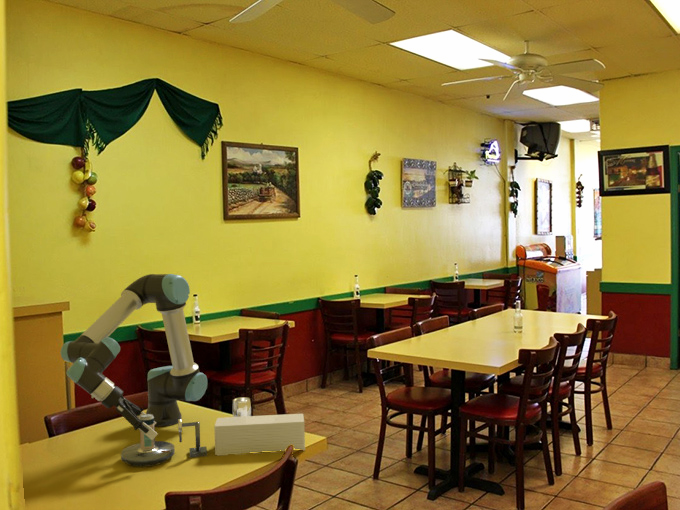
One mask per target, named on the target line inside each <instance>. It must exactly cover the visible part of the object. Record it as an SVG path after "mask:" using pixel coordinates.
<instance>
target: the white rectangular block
mask: <svg viewBox="0 0 680 510" xmlns="http://www.w3.org/2000/svg"><path fill="white" fill-rule="evenodd" d="M304 416H305V415H304V413H289V414H285V413H284V414H271V415H270V414H269V415H267V414H266V415H251V416H245V417H233V416H229V417H228V416H227V417H217V418H216V420H215V424H214V427H213V428H214V454H215V455H217V456H229V455H228V454H235V455H242V454H241V453H250V452H262V451H280V450H281V451H285V449H286V448H287V447H288V446H289V445H291V444H292V445H294V448H295V449H301V450H303V451H306V437H305V434H306V432H305V418H304ZM303 451H302V452H303Z"/></svg>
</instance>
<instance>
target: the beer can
mask: <svg viewBox="0 0 680 510" xmlns="http://www.w3.org/2000/svg"><path fill="white" fill-rule="evenodd" d="M140 420H141V421H142V422H144V423H145V424H147V425H148V426H149V427H150V428H152V429H153V430H154V431H155V426H154V417H153V415H152V414H146V413H145V414H144V415H141V417H140ZM139 433H140V434H139V435H140V437H139V440H140V442H139V443H141V449H142V450H143V451H149V450H152V449H153V448H155V441H156V440H155V439H156V437H155V438H154V439H153V440H151V439H150V438H149V437H147V436H146V435H145V434H144V433H142V432H141V431H140V430H139Z"/></svg>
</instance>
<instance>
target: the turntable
mask: <svg viewBox="0 0 680 510" xmlns="http://www.w3.org/2000/svg"><path fill="white" fill-rule="evenodd" d="M174 455H175V445H174V444H173V443H172V442H168V441H159V440H155V448H153V449H152V450H149V451H143V450H142V449H141V442H138V443H135V444H132V445H129V446H127V447H125V448H123V449H122V450H121V451H120V459H121V461H122V462H124V463H125V464H128V463H129V464H150V463H155V462H160V461H163V460H166V459H168V460H169V459H170V458H172V457H173V456H174ZM166 461H167V460H166ZM129 464H128V465H129Z"/></svg>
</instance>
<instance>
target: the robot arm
mask: <svg viewBox="0 0 680 510" xmlns="http://www.w3.org/2000/svg"><path fill="white" fill-rule="evenodd" d="M190 291H191V290H190V285H189V282H188V281H187V280H186V279H185V278H184V277H183V276H182V275H180V274H174V273H161V274H159V273H158V274H157V273H156V274H154V273H152V274H151V273H150V274H145V275H143V276H140V277H139V278H137V279H135V280H133V282H132V283H130V284H129V285H128V286H127V287H126V288H124V289H123V291H121V293H120V297H119V298H118V299H117V300H115V302H113V303H112V304H111V305H110V306H109V308H108V309H106V310H105V312H103V314H101V315H100V316H99V317H98V318H97V319H96V320H95V321H94V322H93V323H92V324H91V325H90V326H89V327H88V328H86V330H85V331H83V332H82V333H81V334H80V336H78V337H77V338H76V339H75V340H70V341H66V342H65V343H64V344H63V345H62V346H61V348H60V357H61V359H62V360H63V361H65V362H68V363H71V365H70V367H68V368H67V370H66V376H67V377H68V378H69V379H70V380H72V382H73V383H75V384H76V385H77V386H79V387H80V388H81V389H82V390H84V391H85V392H87V393H88V394H89V395H91V399H94V398H95V400H97V401H98V402H100V404H101V405H102V406H104V407H105V408H107V409H109V410H110V409H111V408H112V407H113V406H114V407H115V411H116V412H117V413H119V414H120V415H121V416H122V417H123V418H124V419H125V420H126V421H127V422H128V423H129V424H130V425H131V426H133V429H134V430H135V431H137V430H139V432H140V431H141V432H142V433H144V434H145V435H146V436H147V437H149V438H150V439H151V440H153V439H154V438H155V439H156V437H157V436H158V435H159V432H158V433H157V431H155V429H154V430H153V429H152V428H150V427H149V426H148V425H147V424H145V423H144V422H142V421H141V420H140V417H141V415H144V414H152V415H153V417H154V427H167V426H172V425H175V424H178V419H182V417H183V416H182V413H181V410H180V408H179V405H178V400H181V401H186V402H197V401H200V399H202V397H203V396H204V395H205V394H206V390H207V389H208V378H207V374H204V373H203V372H200V368H199V364H197V363H196V362H194V361H195V360H194V357H193V352H192V345H191V342H190V336H189V332H188V327H187V322H186V317H185V312H184V308H185V307H186V305H187V301H188V300H189V297H190V293H191V292H190ZM147 304H155V307H156V311H157V312H158V313H160V314H161V317H162V322H163V326H164V331H165V336H166V340H167V345H168V351H169V355H170V361H171V364H172V365H166V366H161V367H157V368H153V369H152V368H151V369H150V370H149V371H148V372H147V379H146V380H147V396H148V397H147V398H148V404H147V408H146V413H145V412H143V411H144V408H142V407H139V406H137V405H136V404H135V403H133V402H131V401H130V400H129V399H127V398H125V397H124V396H123V395H124V390H122V389H121V388H120V386H118V385H115V382H113V381H112V380H110V379H109V378H108V377H106V376H105V375H104V374H103V372H105V370H106V369H107V368H108V367H109V365H111V363H112V362H113V361H114V360H115V359H116V357H117V355H119V353H120V352H121V346H120V344H119V343H118V341H116V340H115V339H114V338H112V337H110V336H111V334H113V333H114V332H115V331H116V329H118V328H119V326H120V325H121V324H123V322H124V321H125V320H127V318H129V316H130V315H132V314H133V312H134V311H135V310H140V309H141V308H142V307H143V306H144V305H147ZM182 420H183V419H182Z"/></svg>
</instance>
